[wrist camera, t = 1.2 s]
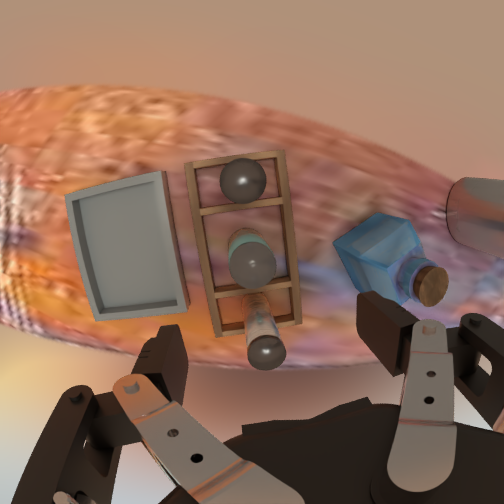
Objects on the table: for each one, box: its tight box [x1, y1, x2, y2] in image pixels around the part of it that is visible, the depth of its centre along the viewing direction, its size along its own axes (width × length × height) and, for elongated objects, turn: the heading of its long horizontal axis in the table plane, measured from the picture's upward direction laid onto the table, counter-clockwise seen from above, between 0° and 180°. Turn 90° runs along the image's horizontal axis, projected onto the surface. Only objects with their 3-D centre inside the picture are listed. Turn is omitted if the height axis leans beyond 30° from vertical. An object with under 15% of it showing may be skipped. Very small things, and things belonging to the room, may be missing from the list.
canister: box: [242, 292, 286, 370], centre depth 25 cm, size 3×3×10 cm
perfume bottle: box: [333, 213, 449, 307], centre depth 24 cm, size 6×6×12 cm
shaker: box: [228, 228, 276, 289], centre depth 25 cm, size 4×4×7 cm
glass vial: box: [220, 158, 266, 204], centre depth 22 cm, size 3×3×10 cm
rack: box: [184, 150, 302, 338], centre depth 27 cm, size 9×18×2 cm, turn 8°
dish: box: [65, 171, 190, 321], centre depth 26 cm, size 11×14×2 cm
